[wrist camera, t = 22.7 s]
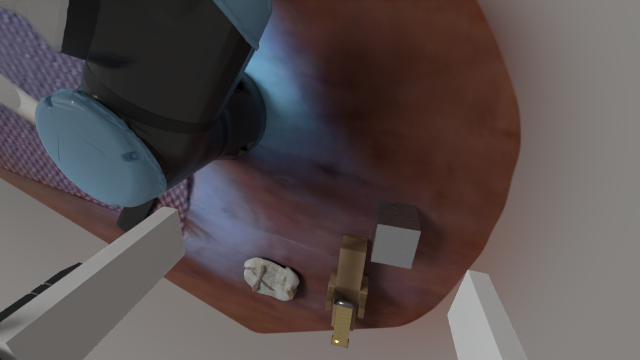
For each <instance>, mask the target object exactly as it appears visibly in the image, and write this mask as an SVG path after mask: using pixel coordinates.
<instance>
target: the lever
mask: <svg viewBox="0 0 640 360" xmlns="http://www.w3.org/2000/svg"><path fill="white" fill-rule="evenodd" d="M334 304H335V305H337V310H336V318H335V325H334V333H333V335H332V340H331V344H332V345H336V346H340V347H344V348H348V343H349V339H348V335H349V330H350V323H351V317H352V310H353V309H356V307H357V303H354V302H349V301H345V300H340V299H336V298H335V300H334Z"/></svg>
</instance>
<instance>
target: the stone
mask: <svg viewBox="0 0 640 360" xmlns="http://www.w3.org/2000/svg"><path fill="white" fill-rule="evenodd" d="M244 268H245V271H244V278H245V280H246V282H247V283H248V284H249V285H250V286H251V287H252V290H253V291H254V292H255V291H257V292H259V293H261V294H266V295H270V296H273V297H275V298H278V299H279V300H284V301H287V300H289V299H290V300H292V299H293V297H294V296H295V293H296V291H297V289H296V287H297V286H298V285H299V278H298V276H297V275H296V274H295V273H294V272H293V271H292V270H291V269H290V268H288V267H286V269H284V268H282V267H281V266H279V265H277V264H275V263H273V262H270V261H268V260H264V259H261V258H257V257H256V258H252V259H249V260H247V261H246V262H245V266H244Z"/></svg>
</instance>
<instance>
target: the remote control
mask: <svg viewBox="0 0 640 360" xmlns="http://www.w3.org/2000/svg"><path fill="white" fill-rule="evenodd" d="M156 200H157V197H156V198H154V199H151V200H149V201H147V202H146V203H144V204H141V205H139V206H135V207H124V208H123V210H122V212H121V214H120V216H119V219H118V221H117V226H118V227H119V228H121V229H122V230H123V231H125V232H126V233H127V232H128V231H129V230H131V229H132V228H134V227H135V226H137V225H138V224H139V223H141V222H142V221H144V220H145V219H146V218H147V216H148V215H149V213H150V211H151V209H152V207H153V205H154V204H155V202H156Z"/></svg>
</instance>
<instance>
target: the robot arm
mask: <svg viewBox="0 0 640 360" xmlns="http://www.w3.org/2000/svg"><path fill="white" fill-rule="evenodd" d="M0 8H2V9H5V10H8V11H11V12H14V13H16V14H18V15H20V16H21V17H22V18H24V19H25V20H26V21H27V22H29V23H30V24H31V25H32V27H33V28H34V29H35V30H36V31H37V32H38V33H39V34H40V36H41V37H42V38H43V39H44V40H45V41H46V42H47V43H48V44H49V46H50V47H51V48H52V49H53V50H54V51H58V52H60V53H64V54H67V55H70V56H73V57H77V58H80V59H83V60H85V65H84V70H83V75H82V80H81V84H80V86H79V87H78V88H77V89H76V90H74V89H59V90H57V91H56V92H55V93H54V94H50V95H47V96H45V97H43V98H42V99H41V100H40V102H39V103H38V105H37V108H36V112H35V121H36V127H37V131H38V134H39V137H40V139H41V141H42V143H43V145H44V147H45V149H46V151H47V153H48V154H49V156H50V157H51V158H52V160H53V161H54V162H55V164H56V165H57V166H58V168H59V169H60V170H61V171H62V172H63V173H64V175H65V176H66V177H67V178H68V179H70V180H71V181H72V182H73V183H74V184H75V185H76V186H77V187H79V188H80V189H81V190H83V191H84V192H85V193H87V194H88V195H90V196H92V197H94V198H95V199H97V200H99V201H102V202H104V203H106V204H109V205H113V206H120V207H121V206H123V207H135V206H139V205H141V204H144V203H146V202H147V201H149V200H151V199H154V198H156V197H159V196H161V195H163V194H164V193H165V192H166V191H167V190H169V189H170V188H172V187H173V186H175V185H176V184H178V183H179V182H181V181H183V180H184V179H186V178H187V177H189V176H190V175H192V174H193V173H195V172H197V171H198V170H200V169H201V168H203V167H204V166H206V165H207V164H209V163H211V162H212V161H214V160H225V159H233V158H237V157H240V156H242V155H244V154H246V153H247V152H248V151H250V150H251V149H253V148H254V147H255V146H256V145H257V144H258V143H259V141H260V140H261V138H262V136H263V133H264V130H265V126H266V109H265V105H264V101H263V98H262V96H261V93H260V91H259V90H258V88H257V86H256V85H255V83H254V82H253V81H252V80H251V78H250V77H249V76H248V75H247V74H246V73H244V71H245V69H246V67H247V65H248V63H249V61H250V60H251V58H252V56H253V54H254V52H255V50H256V51H257V50H258V49H259V41H260V39H261V36H262V34H263V32H264V30H265V28H266V25H267V23H268V21H269V19H270V16H271V13H272V0H0ZM184 255H185V249H184V243H183V238H182V232H181V226H180V221H179V215H178V210H177V209H173V208H168V207H162V208H160V209H159V210H158V211H156V212H155V213H153V214H152V215H151V216H149V217H148V218H146V219H145V220H144V221H142V222H141V223H139V224H138V225H137V226H135V227H134V228H132V229H131V230H129V231H128V232H127V233H125V234H124V235H122V236H121V237H120V238H118V239H117V240H115V241H114V242H113V243H111V244H110V245H108V246H107V247H106V248H104V249H103V250H102V251H100V252H99V253H97V254H96V255H94V256H93V257H92V258H90V259H89V260H87V261H86V262H84V263H77V264H75V265H73V266H71V267H69V268H67V269H64V270H62V271H60V272H59V273H57V274H56V275H54V276H53V277H52V278H50V279H49V280H47V281H46V282H45V283H44V284H43V285H40V286H39V287H37V288H35V289H34V290H33V291H31V293H30V294H27V295H25V296H24V297H22V298H21V299H19V300H18V301H17V302H15V303H14V304H12V305H11V306H9V307H8V308H6V309H5V310H4V311H2V312H1V313H0V360H83V359H84V357H86V355H88V353H90V351H91V350H92V349H93V348H94V347H95V346H96V345H97V344H98V343H99V342H100V341H101V340H102V339H103V338H104V337H105V336H106V335H107V334H108V333H109V332H110V331H111V330H112V329H113V328H114V327H115V326H116V325H117V324H118V323H119V322H120V321H121V320H122V319H123V317H124V316H125V315H126V314H127V313H128V312H129V311H130V310H131V309H132V308H133V307H134V306H135V305H136V304H137V303H138V302H139V301H140V300H141V299H142V298H143V297H144V296H145V295H146V294H147V293H148V292H149V291H150V290H151V289H152V288H153V287H154V286H155V284H157V282H158V281H159V280H160V279H161V278H162V277H163V276H164V275H165V274H166V273H167V272H168V271H169V270H170V269H171V268H172V267H173V266H174V265H175V264H176V263H177V262H178V261H179V260H180V259H181V258H182V257H183V256H184ZM447 315H448V320H449V324H450V328H451V332H452V336H453V341H454V345H455V349H456V353H457V357H458V360H528V359H527V357H526V354H525V352H524V350H523V348H522V346H521V344H520V342H519V339H518V338H517V335H516V333H515V331H514V329H513V327H512V325H511V323H510V320H509V318H508V316H507V314H506V312H505V310H504V307H503V305H502V303H501V301H500V299H499V297H498V295H497V293H496V291H495V288H494V286H493V284H492V282H491V280H490V278H489V275H488V274H486V273H480V272H476V271H471V270H467V272H466V275H465V277H464V279H463V281H462V283H461V286H460V288H459V290H458V292H457V294H456V297H455V299H454V301H453V303H452V306H451V308H450V310H449V312H448V314H447Z"/></svg>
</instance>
